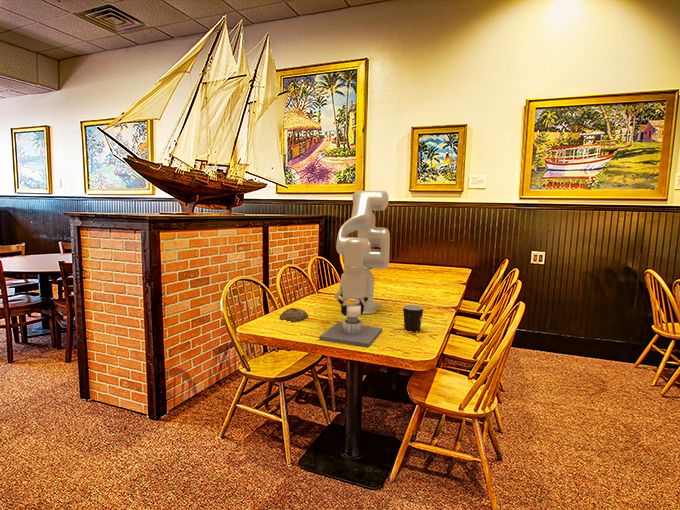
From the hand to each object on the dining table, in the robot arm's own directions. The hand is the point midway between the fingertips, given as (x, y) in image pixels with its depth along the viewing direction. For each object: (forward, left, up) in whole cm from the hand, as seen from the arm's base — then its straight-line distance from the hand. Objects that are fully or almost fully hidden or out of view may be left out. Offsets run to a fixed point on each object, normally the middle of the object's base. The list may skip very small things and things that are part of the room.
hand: (352, 313), depth 149 cm
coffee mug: (-26, +2, -9) cm, 28 cm away
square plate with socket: (0, 0, -9) cm, 9 cm away
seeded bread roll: (+17, -32, -10) cm, 37 cm away
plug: (0, 0, -5) cm, 5 cm away
